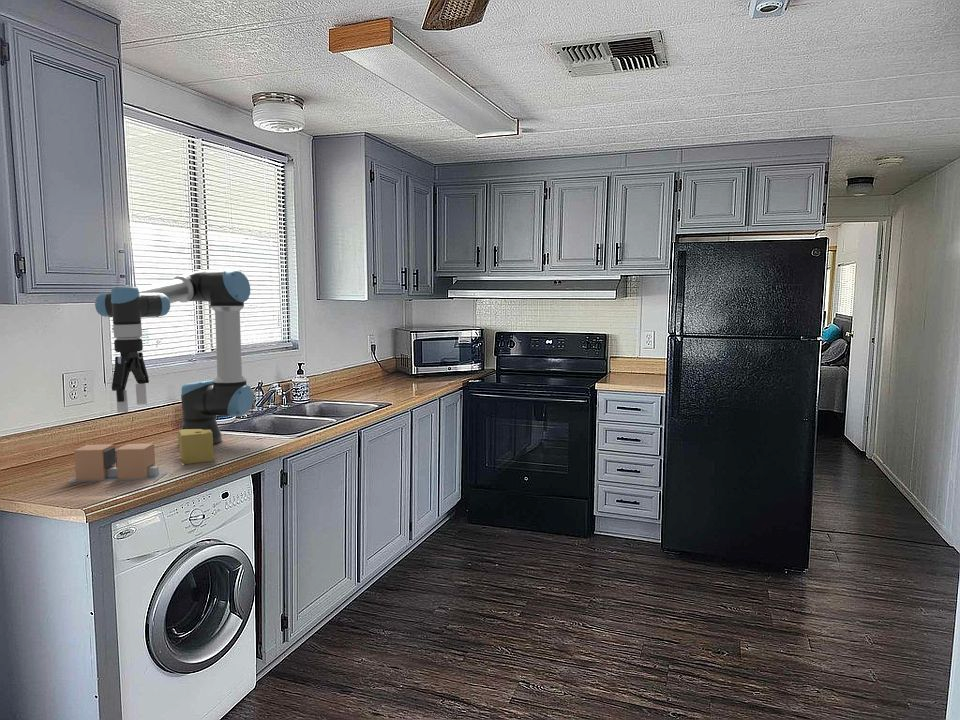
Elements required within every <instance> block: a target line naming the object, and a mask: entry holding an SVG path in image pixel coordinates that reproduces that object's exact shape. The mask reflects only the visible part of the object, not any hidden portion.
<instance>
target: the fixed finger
mask: <svg viewBox="0 0 960 720" xmlns="http://www.w3.org/2000/svg"><path fill="white" fill-rule="evenodd" d="M115 451H116V447H115V444H113V443H110V444H86V445H84V446H81V447H79V448H76V449H74V450H73V453H74V468H75V469H74V470H75V477H76V480H104V479H106V478H107V477H106V468H108V467H116V456H115Z"/></svg>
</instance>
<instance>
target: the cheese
mask: <svg viewBox="0 0 960 720" xmlns="http://www.w3.org/2000/svg"><path fill="white" fill-rule="evenodd" d="M177 433H178V435H177V437H178V438H177V439H178V441H177V442H178V447H179V452H180V453H179V454H180V459H181V460H182V461H181V462H182V465H188V464H189V465H190V464H197V463H199V464H200V463H206V462H207V463H209V462H213V461H214V459H215V457H214V455H215V454H214V453H215V452H214V444H213V433H212V431H211V430H202V429H183V430H181V429H179V430H178V432H177Z"/></svg>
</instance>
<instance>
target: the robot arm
mask: <svg viewBox="0 0 960 720" xmlns="http://www.w3.org/2000/svg"><path fill="white" fill-rule="evenodd" d="M250 284H251V283H250V281H249V279H248V277H247V276H246V275H245V273H243V272H242V271H241V270H237V269H230V268H229V269H201V270H196V271H191V272H188V273H185V274H182V275H178V276H175V277H173V279H171V280H167V281H163V282H159V283H154V284H150V285H146V286H142V287H138V286H114V287H112V288H111V291H110V292H105V293H100V294H99V295H97V297H96V299H95V301H94V307H95V311H96V312H97V314H99V315H100V316H102V317H106V318H112V324H113V325H112V326H113V327H112V328H111V330H112V331H113V338H115V339H114V340H113V345H114V347H113V348H114V352H116V353H120V354H119V355H120V356H115V357H114V370H113V374H112V375H113V377H112V383H111V390H112V391H113V392H115V395H116V398H115V399H116V410H117V414H120V413H129V405H128V404H129V403H128V401H129V400H128V390H127V389H126V387H127V383H128V380H129V376H130V373H132V375H133V377H134V379H135V381H136V383H135V394H136V405H139V406H140V405H143V406H144V405H147V404H148V402H147V384H149V382H150V380H149V375H148V372H147V368H146V367H147V366H146V364H145V360H144V355H143V352H142V351H143V350H144V348H143V347H144V346H143V345H144V344H143V339H142V338H141V337H143V330H142V328H143V327H142V318H159V317H164V316H166V315H167V314H168V313H169V312H170V309H171V304H173V303H177V302H179V303H188V302H208V303H209V304H210V306H209V307H210V308H211V309H212V310H213V311H214V318H215V319H214V321H215V323H214V324H215V344H216V346H215V350H216V375H217V376H216V377H215V378H214V379H213V380H212V379H211V380H209V379H208V380H202V381H193V382H189V383H185V384H183V385H182V386H181V392H180V393H181V395H180V398H181V411H182V412H181V413H182V426H181V429H180V430H183V429H202V430H211V431H212V433H213V445H215V444H218V443H221V442H222V440H223V437H222V432H221V429H220V427H219V424H218V422H217V419H216V418H217V416H218V417H229V418H230V417H231V418H234V417H235V418H236V417H238V418H239V417H244V416H245V415H246V414H248V413H249V411H250V410H251V409H252V406H253V403H254V399H255V397H254V396H255V395H254V391H253V388H252V387H251V386H249V385H248V384H247V378H245V377H244V376H243V373H242V372H243V371H242V370H243V369H242V365H243V363H242V337H241V311H242V309H243V308H244V307H245V302H246V301H248V300H249V298H250V295H251V285H250ZM95 302H97V303H95Z"/></svg>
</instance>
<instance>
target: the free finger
mask: <svg viewBox="0 0 960 720" xmlns="http://www.w3.org/2000/svg"><path fill="white" fill-rule="evenodd" d="M155 457H156V456H155V443H127V444H124V445H123V446H120V447H118V448H115V458H116V463H115V467H116V468H117V474H118V479H146V478H147V477H148V473H147V467H149V466H156V461H155V460H156V458H155Z"/></svg>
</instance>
